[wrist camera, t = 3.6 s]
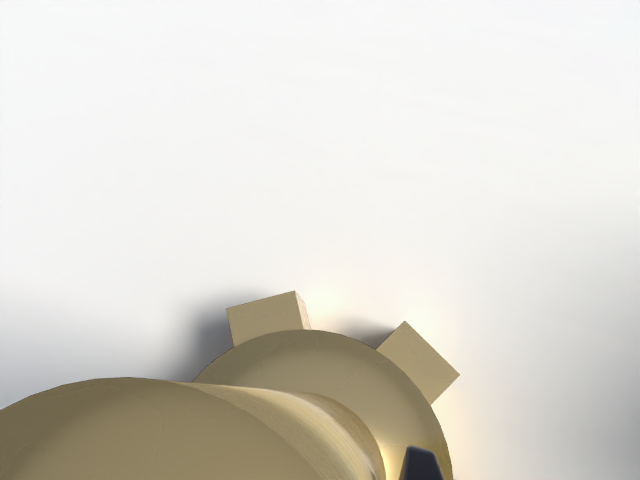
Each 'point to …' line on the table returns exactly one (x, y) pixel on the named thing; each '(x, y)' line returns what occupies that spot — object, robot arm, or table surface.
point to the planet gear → (243, 411)
